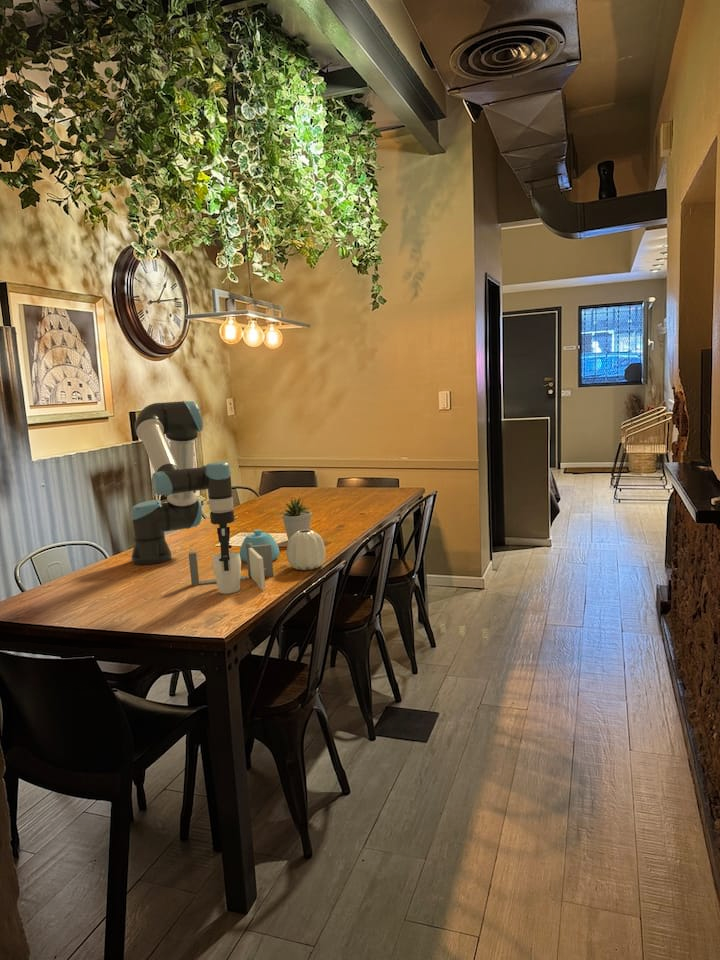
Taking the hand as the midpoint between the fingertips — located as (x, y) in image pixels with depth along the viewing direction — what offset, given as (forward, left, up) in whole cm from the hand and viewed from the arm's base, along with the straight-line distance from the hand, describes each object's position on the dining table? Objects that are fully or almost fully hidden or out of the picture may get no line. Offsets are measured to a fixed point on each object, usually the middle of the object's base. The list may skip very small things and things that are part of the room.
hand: (227, 574), depth 210 cm
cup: (+2, 0, -5) cm, 6 cm away
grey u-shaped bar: (-11, +1, -5) cm, 12 cm away
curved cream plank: (-1, +10, -4) cm, 11 cm away
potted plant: (-59, +29, -5) cm, 66 cm away
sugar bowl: (-35, +12, -5) cm, 37 cm away
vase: (-16, +28, -5) cm, 32 cm away
